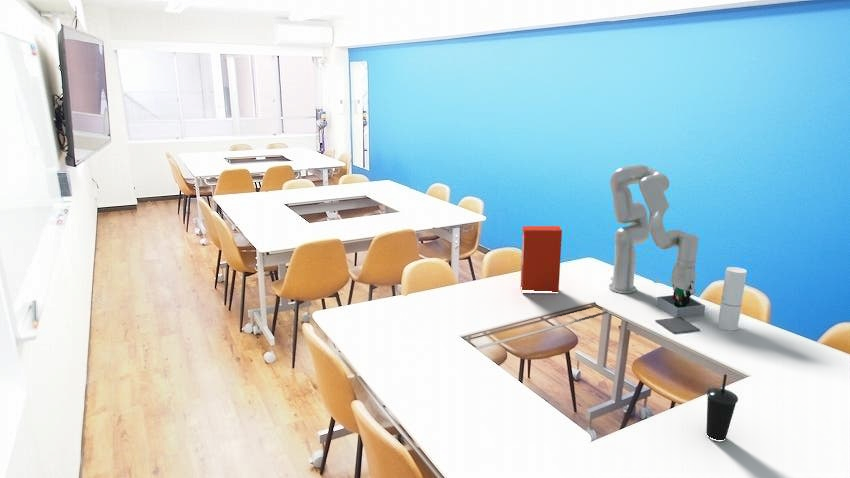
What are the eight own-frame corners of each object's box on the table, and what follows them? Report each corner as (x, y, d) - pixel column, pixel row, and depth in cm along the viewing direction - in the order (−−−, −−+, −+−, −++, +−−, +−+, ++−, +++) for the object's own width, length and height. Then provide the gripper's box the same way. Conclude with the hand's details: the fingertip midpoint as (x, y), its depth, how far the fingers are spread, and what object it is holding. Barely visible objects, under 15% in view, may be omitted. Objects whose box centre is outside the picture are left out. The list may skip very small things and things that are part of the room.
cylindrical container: (732, 323, 221) (741, 266, 213) (740, 331, 214) (750, 273, 207) (714, 323, 221) (723, 266, 214) (722, 330, 214) (731, 272, 207)
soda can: (685, 309, 235) (688, 283, 232) (686, 313, 231) (690, 287, 227) (672, 307, 237) (675, 282, 233) (674, 312, 232) (677, 286, 229)
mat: (655, 321, 224) (655, 320, 224) (680, 318, 226) (680, 317, 226) (673, 333, 213) (673, 332, 212) (699, 330, 215) (700, 329, 215)
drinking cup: (695, 429, 155) (704, 368, 149) (720, 427, 155) (729, 367, 150) (710, 446, 147) (720, 383, 142) (737, 444, 148) (747, 381, 142)
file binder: (558, 294, 254) (562, 230, 245) (522, 294, 256) (524, 230, 246) (555, 288, 262) (559, 225, 253) (520, 287, 263) (522, 225, 254)
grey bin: (656, 306, 239) (657, 296, 238) (682, 303, 241) (684, 293, 240) (676, 318, 226) (677, 308, 225) (703, 315, 229) (705, 305, 227)
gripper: (665, 257, 235) (661, 295, 240) (691, 269, 219) (686, 310, 224) (680, 255, 236) (675, 293, 241) (707, 268, 220) (701, 308, 225)
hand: (680, 301), depth 232 cm, fingers closed on soda can, 5 cm apart
